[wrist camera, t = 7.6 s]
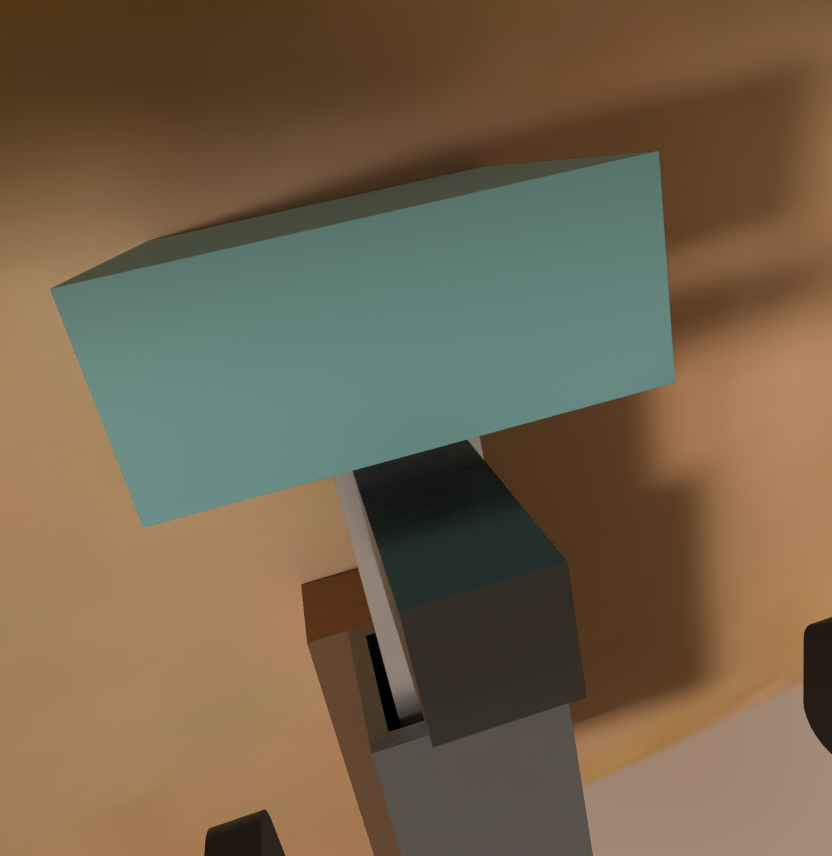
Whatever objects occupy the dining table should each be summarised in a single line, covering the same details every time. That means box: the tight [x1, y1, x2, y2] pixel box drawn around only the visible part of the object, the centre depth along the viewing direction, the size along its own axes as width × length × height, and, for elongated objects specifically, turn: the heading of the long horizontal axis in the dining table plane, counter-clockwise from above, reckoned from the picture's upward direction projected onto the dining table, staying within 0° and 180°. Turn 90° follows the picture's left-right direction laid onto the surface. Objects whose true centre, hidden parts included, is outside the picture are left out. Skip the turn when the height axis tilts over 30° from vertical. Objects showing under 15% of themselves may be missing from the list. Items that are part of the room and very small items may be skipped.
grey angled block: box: [333, 436, 586, 747], centre depth 18 cm, size 16×4×11 cm, turn 12°
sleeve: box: [301, 569, 593, 856], centre depth 27 cm, size 12×9×10 cm
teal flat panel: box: [50, 151, 675, 528], centre depth 20 cm, size 5×12×12 cm, turn 102°
